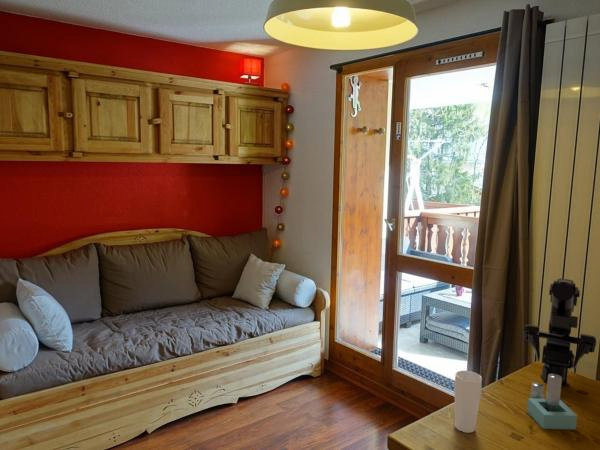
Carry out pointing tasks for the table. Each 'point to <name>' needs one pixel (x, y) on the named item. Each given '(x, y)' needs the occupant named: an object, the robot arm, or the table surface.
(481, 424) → the table surface
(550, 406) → the tall pin
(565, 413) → the hole block
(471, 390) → the drinking glass
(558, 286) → the robot arm
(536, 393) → the short pin
